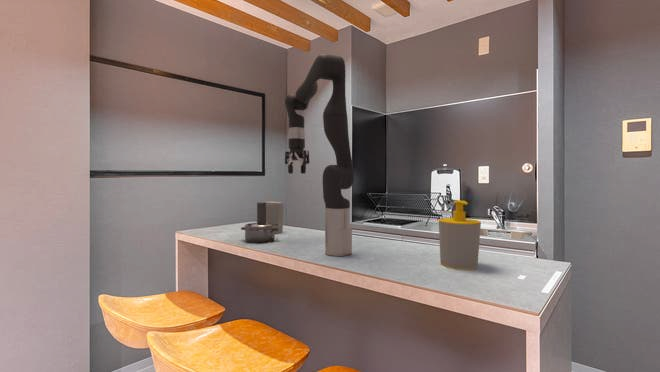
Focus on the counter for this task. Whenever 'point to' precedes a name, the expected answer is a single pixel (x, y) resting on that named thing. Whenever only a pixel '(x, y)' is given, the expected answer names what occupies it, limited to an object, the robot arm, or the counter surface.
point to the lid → (261, 215)
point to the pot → (259, 233)
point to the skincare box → (275, 214)
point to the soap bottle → (459, 240)
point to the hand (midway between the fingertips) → (296, 173)
